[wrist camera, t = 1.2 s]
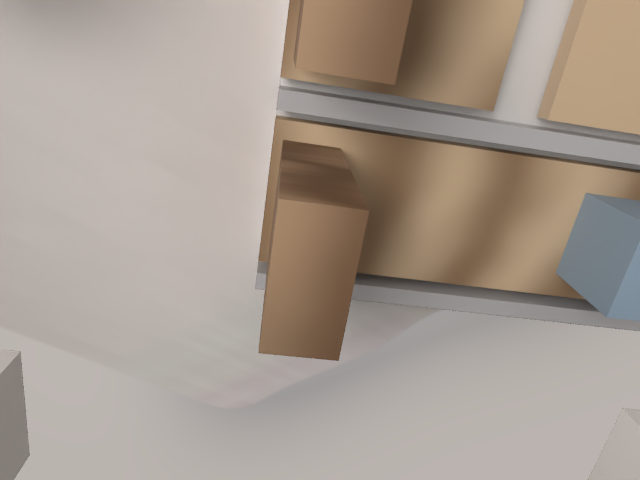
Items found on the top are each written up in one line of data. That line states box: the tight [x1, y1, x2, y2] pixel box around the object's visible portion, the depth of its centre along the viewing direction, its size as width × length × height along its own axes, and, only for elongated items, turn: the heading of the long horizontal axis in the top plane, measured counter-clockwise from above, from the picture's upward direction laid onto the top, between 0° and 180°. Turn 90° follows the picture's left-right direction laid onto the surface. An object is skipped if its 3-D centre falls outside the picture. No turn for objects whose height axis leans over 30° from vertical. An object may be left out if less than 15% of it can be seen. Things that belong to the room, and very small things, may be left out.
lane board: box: [255, 0, 640, 331], centre depth 26 cm, size 24×21×3 cm
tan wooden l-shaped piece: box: [259, 115, 640, 361], centre depth 23 cm, size 24×8×11 cm, turn 81°
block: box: [556, 193, 640, 321], centre depth 26 cm, size 5×5×5 cm
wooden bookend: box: [281, 0, 525, 111], centre depth 19 cm, size 11×8×11 cm
